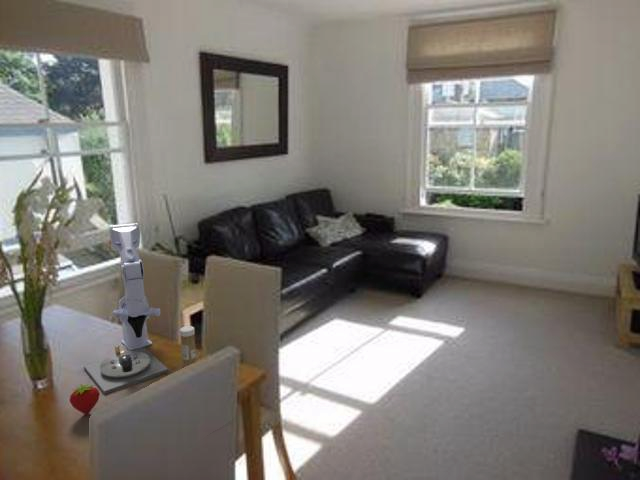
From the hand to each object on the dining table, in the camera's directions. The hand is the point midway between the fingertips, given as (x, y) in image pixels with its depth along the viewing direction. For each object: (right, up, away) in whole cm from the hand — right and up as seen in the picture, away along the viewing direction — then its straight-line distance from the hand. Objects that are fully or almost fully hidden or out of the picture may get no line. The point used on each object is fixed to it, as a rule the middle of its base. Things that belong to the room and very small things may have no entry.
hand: (139, 336), depth 163 cm
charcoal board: (-3, -10, -3) cm, 11 cm away
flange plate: (-4, -9, -3) cm, 10 cm away
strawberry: (-5, -17, -26) cm, 31 cm away
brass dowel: (-8, -9, +4) cm, 13 cm away
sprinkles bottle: (+17, -10, 0) cm, 20 cm away
